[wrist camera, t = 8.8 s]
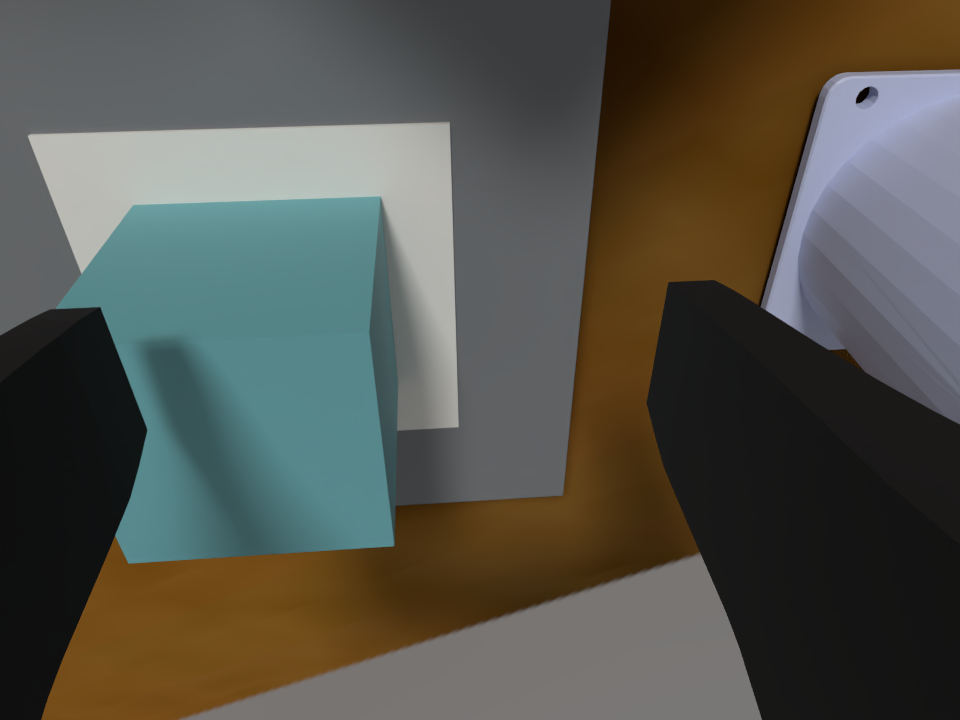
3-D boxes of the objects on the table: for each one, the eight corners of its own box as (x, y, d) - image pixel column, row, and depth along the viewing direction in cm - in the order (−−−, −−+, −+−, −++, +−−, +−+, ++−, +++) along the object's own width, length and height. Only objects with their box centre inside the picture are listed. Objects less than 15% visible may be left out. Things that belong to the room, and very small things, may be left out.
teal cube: (380, 196, 15) (369, 332, 11) (398, 384, 18) (394, 545, 14) (132, 204, 14) (25, 348, 10) (194, 395, 17) (128, 563, 13)
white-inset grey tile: (583, -74, 15) (617, -56, 12) (546, 426, 23) (563, 497, 21) (-122, -65, 14) (-238, -43, 11) (107, 451, 22) (68, 528, 20)
